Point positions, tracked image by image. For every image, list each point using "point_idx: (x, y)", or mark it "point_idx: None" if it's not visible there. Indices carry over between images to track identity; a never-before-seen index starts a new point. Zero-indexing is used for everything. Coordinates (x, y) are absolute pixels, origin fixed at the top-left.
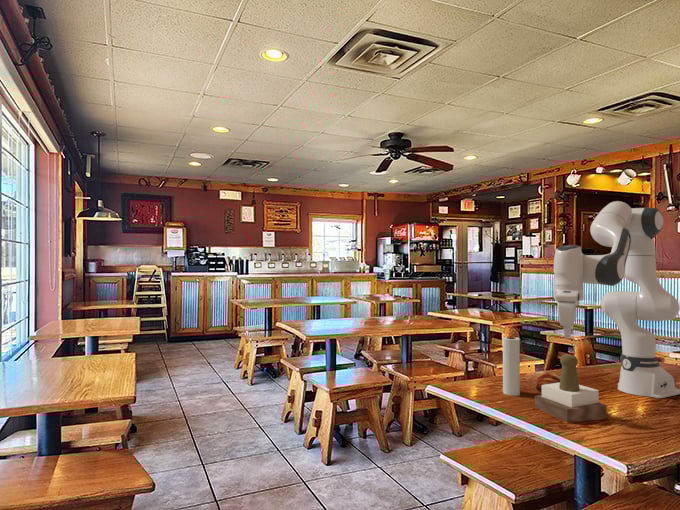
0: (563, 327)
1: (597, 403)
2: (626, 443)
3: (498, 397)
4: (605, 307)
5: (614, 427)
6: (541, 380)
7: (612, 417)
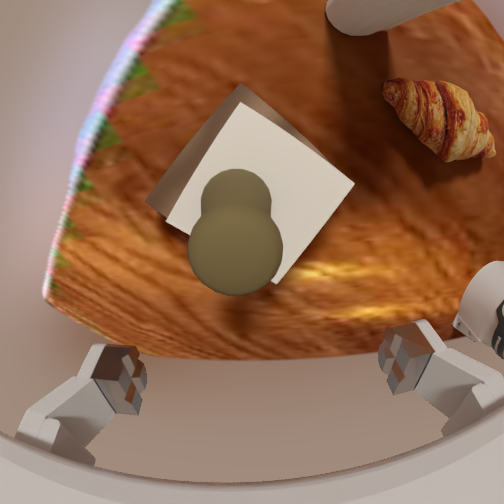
0: (25, 413)
1: None
2: (122, 302)
3: None
4: None
5: None
6: (426, 93)
7: None
